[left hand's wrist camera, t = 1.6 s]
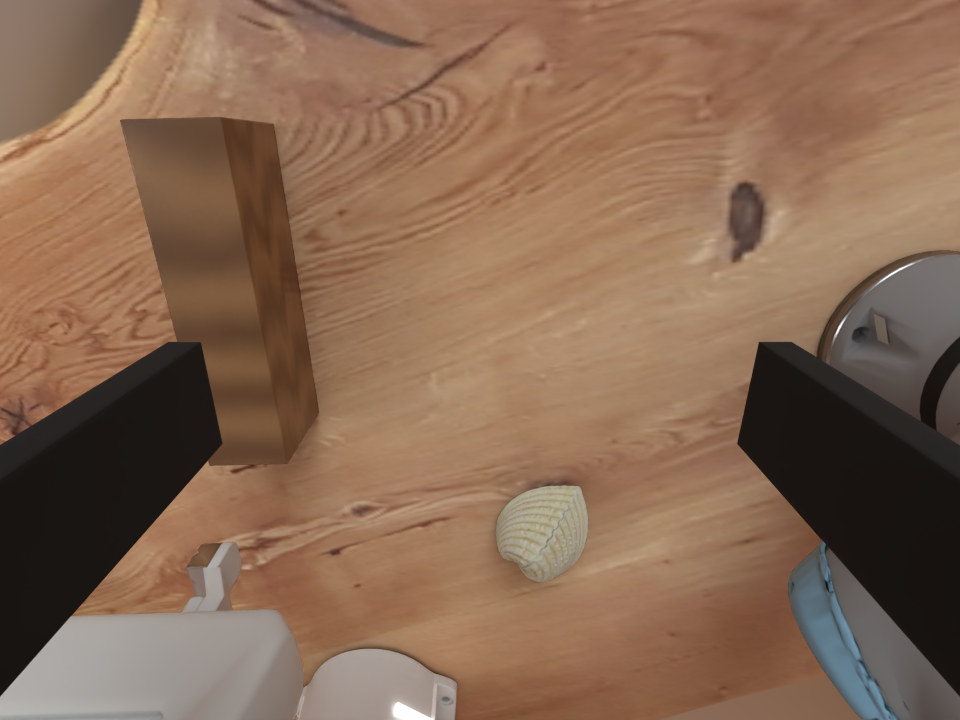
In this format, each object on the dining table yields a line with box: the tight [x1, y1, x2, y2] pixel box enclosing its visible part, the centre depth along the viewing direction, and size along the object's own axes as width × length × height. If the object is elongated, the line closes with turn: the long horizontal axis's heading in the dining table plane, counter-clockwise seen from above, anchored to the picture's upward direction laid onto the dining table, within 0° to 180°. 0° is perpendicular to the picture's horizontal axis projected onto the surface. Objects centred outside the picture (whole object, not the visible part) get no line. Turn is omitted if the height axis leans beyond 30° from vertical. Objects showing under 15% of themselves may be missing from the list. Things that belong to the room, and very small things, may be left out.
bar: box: [120, 117, 319, 466], centre depth 37 cm, size 23×6×8 cm, turn 1°
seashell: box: [495, 485, 588, 582], centre depth 47 cm, size 8×8×8 cm
